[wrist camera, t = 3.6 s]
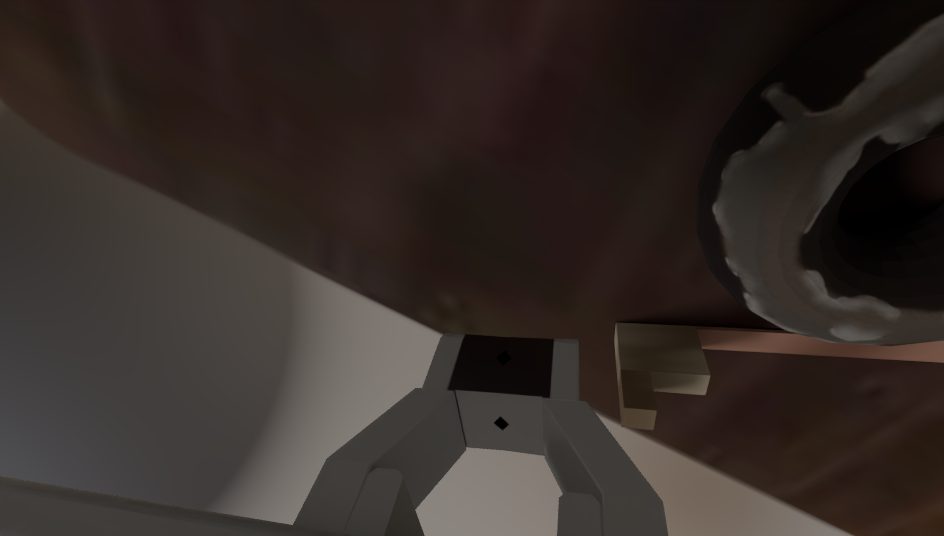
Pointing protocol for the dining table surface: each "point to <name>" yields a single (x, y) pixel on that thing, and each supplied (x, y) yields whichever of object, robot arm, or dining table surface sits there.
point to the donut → (832, 182)
